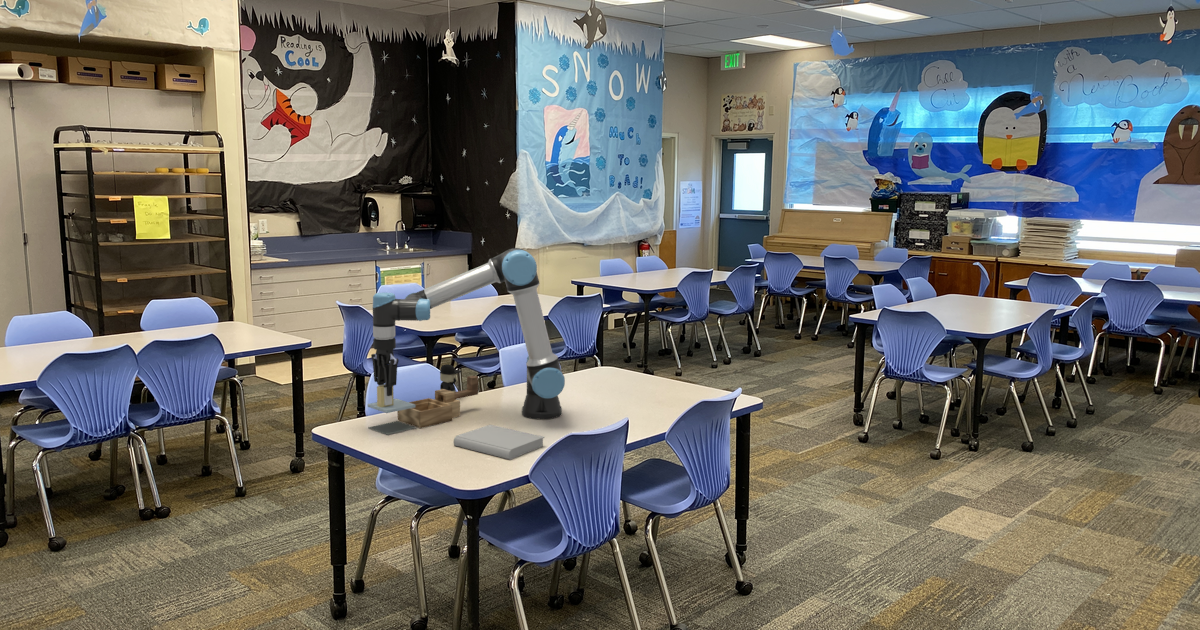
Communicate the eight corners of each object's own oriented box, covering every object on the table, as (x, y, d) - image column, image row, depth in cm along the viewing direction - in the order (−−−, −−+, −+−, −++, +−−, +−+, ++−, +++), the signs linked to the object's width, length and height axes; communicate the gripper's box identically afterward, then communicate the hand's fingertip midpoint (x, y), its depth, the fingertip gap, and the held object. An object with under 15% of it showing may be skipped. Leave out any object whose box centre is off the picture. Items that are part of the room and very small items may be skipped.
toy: (465, 400, 344) (465, 363, 342) (449, 404, 338) (448, 366, 336) (452, 397, 349) (452, 360, 347) (436, 400, 343) (435, 364, 340)
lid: (415, 407, 303) (415, 385, 302) (386, 413, 294) (386, 390, 293) (396, 401, 311) (395, 379, 309) (367, 406, 302) (367, 384, 301)
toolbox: (465, 417, 319) (465, 392, 317) (420, 428, 304) (420, 402, 303) (442, 410, 328) (441, 386, 327) (397, 420, 313) (397, 395, 312)
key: (478, 394, 329) (478, 376, 328) (446, 401, 318) (446, 382, 317) (473, 393, 331) (473, 375, 330) (441, 399, 320) (441, 381, 319)
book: (490, 424, 299) (544, 436, 286) (490, 435, 299) (544, 447, 286) (453, 436, 284) (508, 450, 271) (453, 447, 285) (508, 461, 271)
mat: (416, 428, 304) (416, 427, 304) (387, 435, 295) (387, 434, 295) (396, 421, 312) (396, 420, 312) (368, 428, 303) (368, 427, 303)
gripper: (406, 339, 294) (407, 406, 298) (381, 333, 305) (382, 397, 308) (388, 342, 289) (389, 409, 292) (362, 335, 299) (363, 401, 303)
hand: (385, 403), depth 300 cm, fingers closed on lid, 2 cm apart
